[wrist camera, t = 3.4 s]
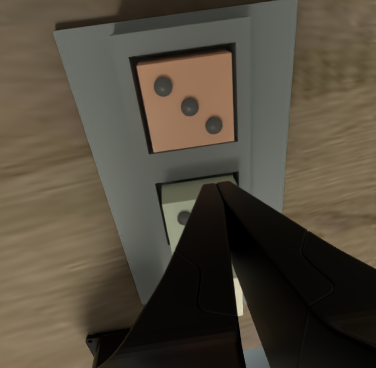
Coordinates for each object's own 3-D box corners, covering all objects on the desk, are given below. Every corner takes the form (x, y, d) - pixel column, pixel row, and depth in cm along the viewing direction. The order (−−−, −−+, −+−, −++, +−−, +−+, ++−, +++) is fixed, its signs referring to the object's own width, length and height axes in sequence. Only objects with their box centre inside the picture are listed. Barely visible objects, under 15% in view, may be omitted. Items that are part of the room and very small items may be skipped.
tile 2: (234, 228, 23) (242, 251, 20) (171, 238, 23) (173, 261, 20) (232, 174, 20) (241, 194, 18) (161, 185, 20) (162, 206, 18)
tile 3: (226, 127, 19) (235, 142, 17) (154, 137, 19) (153, 153, 17) (223, 47, 17) (232, 53, 15) (139, 59, 17) (136, 66, 15)
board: (274, 280, 30) (283, 301, 28) (142, 300, 30) (140, 323, 28) (294, -3, 17) (314, -4, 14) (55, 30, 16) (39, 33, 14)
